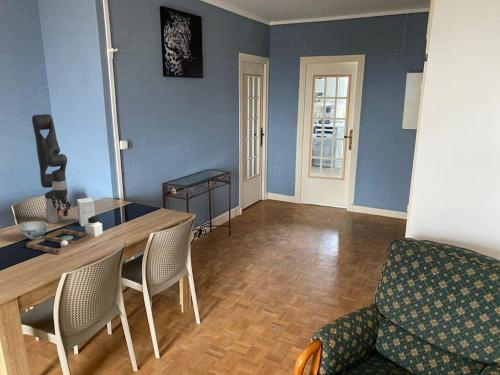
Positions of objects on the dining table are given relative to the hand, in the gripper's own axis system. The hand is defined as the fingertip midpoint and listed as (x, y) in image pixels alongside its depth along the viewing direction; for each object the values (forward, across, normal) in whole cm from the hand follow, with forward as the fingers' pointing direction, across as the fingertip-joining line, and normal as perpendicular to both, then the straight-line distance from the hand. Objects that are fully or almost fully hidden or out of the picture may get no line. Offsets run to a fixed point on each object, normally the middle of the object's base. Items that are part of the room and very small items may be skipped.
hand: (62, 215), depth 226 cm
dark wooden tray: (+15, +2, -6) cm, 16 cm away
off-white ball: (+15, +10, -10) cm, 20 cm away
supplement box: (+15, -8, +26) cm, 31 cm away
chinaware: (+15, -18, -6) cm, 24 cm away
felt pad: (+15, 0, 0) cm, 15 cm away
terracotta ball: (+1, 0, 0) cm, 1 cm away
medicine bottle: (+15, +11, +12) cm, 22 cm away
